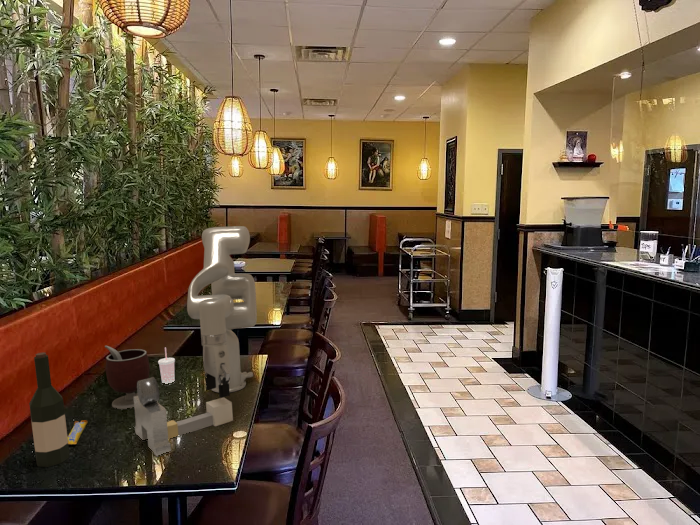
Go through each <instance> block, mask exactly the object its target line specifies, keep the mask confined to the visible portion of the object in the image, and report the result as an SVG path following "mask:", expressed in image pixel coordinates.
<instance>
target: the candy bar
mask: <svg viewBox="0 0 700 525" xmlns="http://www.w3.org/2000/svg"><path fill="white" fill-rule="evenodd" d="M87 424H88V420H83V419H82V420H80V422H79V421H77V420H75V421H74V422H73V427H72V429H70V432H69V433H68V434H67V438H68V446H70V445H71V446H72V445H77V443H78V442H79V440H80V437H81V435H82V434H83V432H84V430H85V428H86V426H87Z"/></svg>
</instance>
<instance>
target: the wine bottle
mask: <svg viewBox="0 0 700 525" xmlns="http://www.w3.org/2000/svg"><path fill="white" fill-rule="evenodd" d="M33 359H34V368H35V377H36V385H37V388H36V389H35V392H34V394H33V396H32V397H31V399H30V400H29V401H30V402H29V403H28V404H29V412H30V419H31V420H30V422H31V429H32V435H33V445H34V453H35V460H36V461H35V462H36V465H37V467H42V468H49V467H53V466H56V465H59V464H60V465H61V464H63V463H64V462H65V461H67V460H68V459H69V458H70V457H71V456H70V448H69V446H70V445H68V438H67V437H68V431H67V430H68V429H67V421H66V412H65V404H64V398H63V396H62V395H61V394H60V393H59V391H58V390H57V389H56V387H54V386H53V385H52V379H51V370H50V362H49V355H48V354H47V352H38V353H35V356H34V357H33Z"/></svg>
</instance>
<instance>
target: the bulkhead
mask: <svg viewBox="0 0 700 525" xmlns="http://www.w3.org/2000/svg"><path fill="white" fill-rule="evenodd" d="M136 393H138V396H135V397H133V398H134V408H133V409H134V416H135V417H134V418H135V419H134V420H135V425H134V431H135V432H134V433H135V435H138V436H139V437H140V438H141V439H142V440H145V439H148V440H147V446H148V447H149V448H150V449H151V450H152V451H153V452H154V453H153V452H152V451H151V450H150V449H149V448H148V449H149V450H150V451H151V452H152V453H153V454H154V456H156V457H159V456H158V455H160V456H162V455H161V454H163V453H166V452H169V451H171V452H172V446H171V442H170V441H169V440H168V429H167V422H168V419H167V409H166V408H165V406H163V405H161V404H160V403H159V400H160V389H159V385H158V382H157V379H156V378H155V377H154V376H151V377H149V378H148V379H144V380H140V381H138V382H137V391H136ZM138 436H137V437H138ZM139 437H138V438H139ZM140 438H139V439H140ZM141 439H140V440H141ZM142 440H141V441H142ZM169 453H170V452H169ZM166 454H167V453H166ZM163 455H164V454H163Z"/></svg>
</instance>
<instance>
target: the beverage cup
mask: <svg viewBox="0 0 700 525" xmlns="http://www.w3.org/2000/svg"><path fill="white" fill-rule="evenodd" d="M164 355H165V357H164V358H160V359H159V360H158V361H157V363H158V365H159V371H160V377H161V384H162V383H165V384H168V383H172V382H174V381H175V380H176V379H175V362H176V359H175V358H174V357H168V355H167V347H164ZM175 382H176V381H175ZM175 382H174V383H175Z"/></svg>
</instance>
